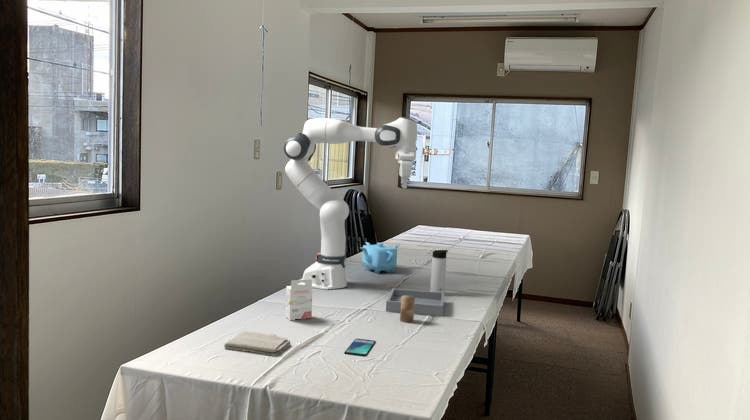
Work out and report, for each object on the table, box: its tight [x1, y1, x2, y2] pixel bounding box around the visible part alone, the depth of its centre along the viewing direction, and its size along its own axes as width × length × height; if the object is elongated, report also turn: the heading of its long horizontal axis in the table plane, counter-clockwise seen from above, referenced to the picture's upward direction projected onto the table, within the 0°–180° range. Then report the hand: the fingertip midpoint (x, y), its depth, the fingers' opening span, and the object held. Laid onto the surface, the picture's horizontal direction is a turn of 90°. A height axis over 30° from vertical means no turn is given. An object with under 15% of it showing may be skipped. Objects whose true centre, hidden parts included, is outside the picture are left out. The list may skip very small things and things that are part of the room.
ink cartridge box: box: [285, 279, 313, 321], centre depth 215 cm, size 9×5×15 cm, turn 118°
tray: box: [385, 287, 445, 317], centre depth 240 cm, size 22×22×4 cm
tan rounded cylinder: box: [399, 295, 415, 324], centre depth 219 cm, size 5×5×9 cm
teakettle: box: [359, 241, 400, 274], centre depth 305 cm, size 19×19×15 cm
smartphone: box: [343, 338, 376, 357], centre depth 188 cm, size 7×1×15 cm
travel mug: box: [429, 249, 448, 294], centre depth 262 cm, size 6×7×20 cm
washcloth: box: [224, 330, 291, 356], centre depth 184 cm, size 12×18×3 cm, turn 77°
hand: (403, 187), depth 257 cm, fingers open, 8 cm apart
